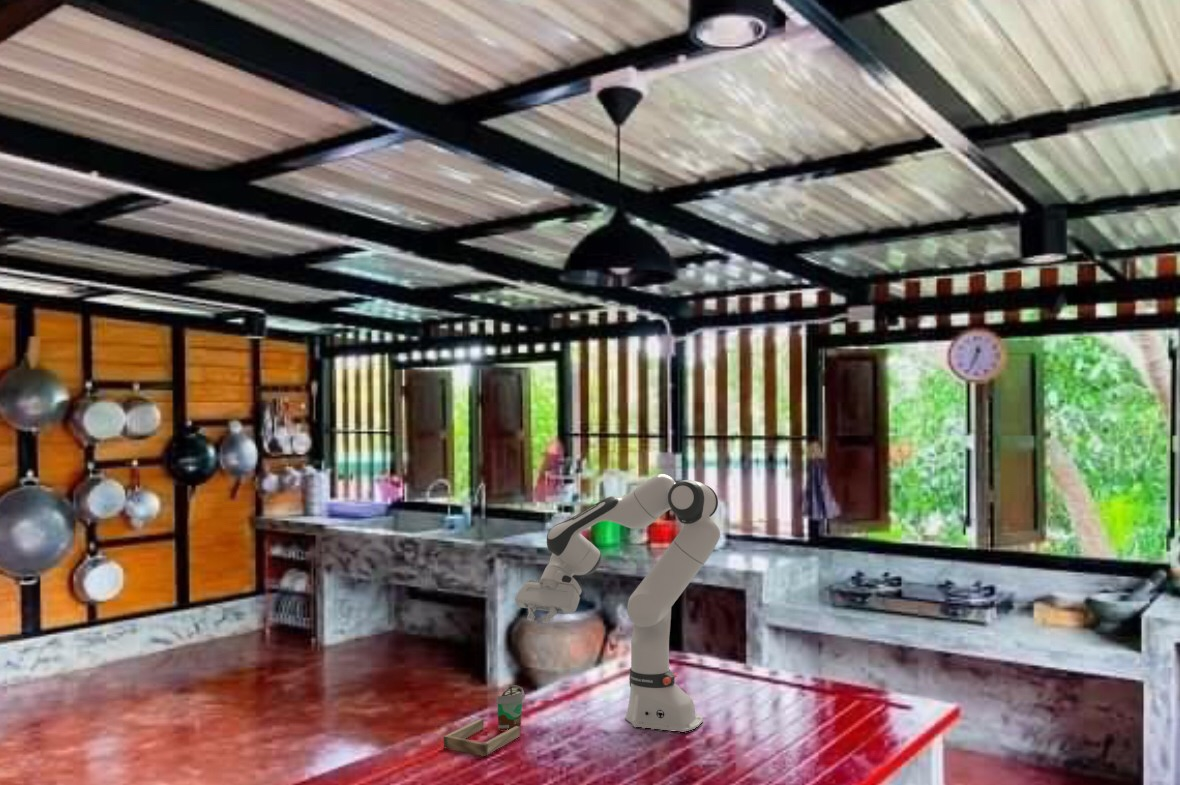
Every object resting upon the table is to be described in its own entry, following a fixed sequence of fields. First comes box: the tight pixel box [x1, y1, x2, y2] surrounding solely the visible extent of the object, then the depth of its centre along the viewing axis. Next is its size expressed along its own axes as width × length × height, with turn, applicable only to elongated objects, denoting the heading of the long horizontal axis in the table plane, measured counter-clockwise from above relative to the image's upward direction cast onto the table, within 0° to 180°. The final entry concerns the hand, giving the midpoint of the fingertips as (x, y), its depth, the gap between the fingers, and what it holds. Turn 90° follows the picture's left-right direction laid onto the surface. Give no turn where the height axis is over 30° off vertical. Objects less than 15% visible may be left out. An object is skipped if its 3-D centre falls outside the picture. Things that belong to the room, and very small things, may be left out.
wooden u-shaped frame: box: [443, 718, 521, 757], centre depth 245 cm, size 13×16×3 cm
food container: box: [496, 684, 526, 730], centre depth 258 cm, size 12×6×10 cm, turn 168°
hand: (537, 620), depth 270 cm, fingers open, 4 cm apart
